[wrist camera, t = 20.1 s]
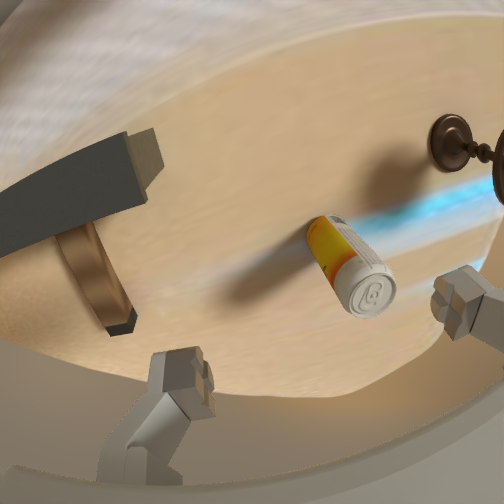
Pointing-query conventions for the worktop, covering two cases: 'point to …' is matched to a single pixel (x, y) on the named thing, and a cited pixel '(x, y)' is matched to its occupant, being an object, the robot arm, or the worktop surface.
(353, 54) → the worktop surface
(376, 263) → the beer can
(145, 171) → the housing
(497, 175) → the candlestick
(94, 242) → the rod
